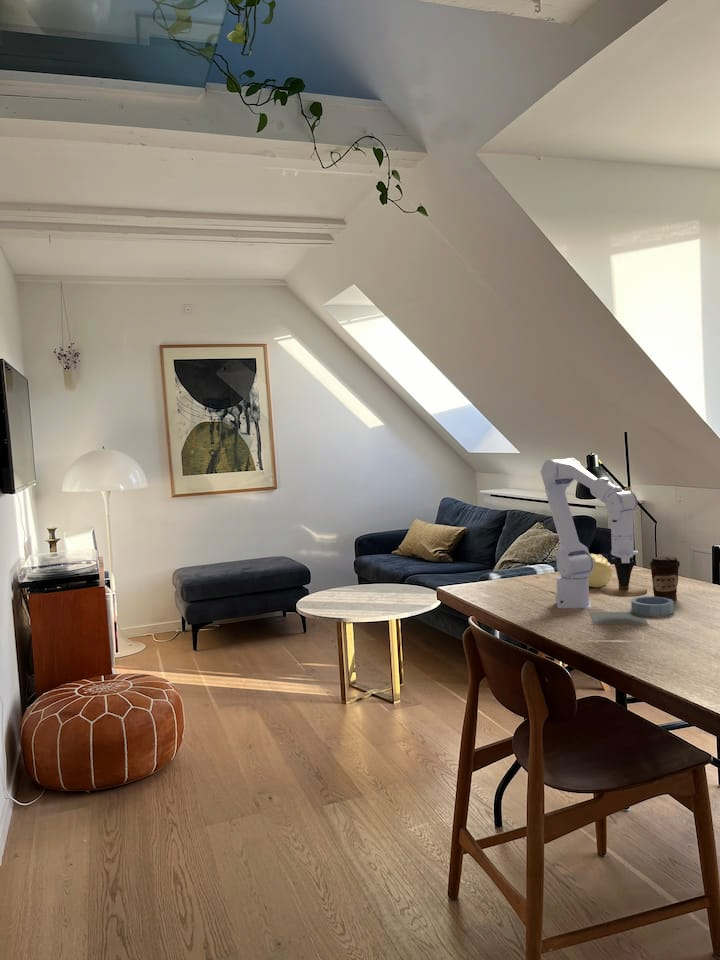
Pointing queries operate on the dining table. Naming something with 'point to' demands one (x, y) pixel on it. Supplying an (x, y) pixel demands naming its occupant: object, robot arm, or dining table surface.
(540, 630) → the dining table surface
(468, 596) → the dining table surface
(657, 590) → the coffee cup
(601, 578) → the sculpture
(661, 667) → the dining table surface
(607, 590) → the lid
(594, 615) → the plate
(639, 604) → the dish
